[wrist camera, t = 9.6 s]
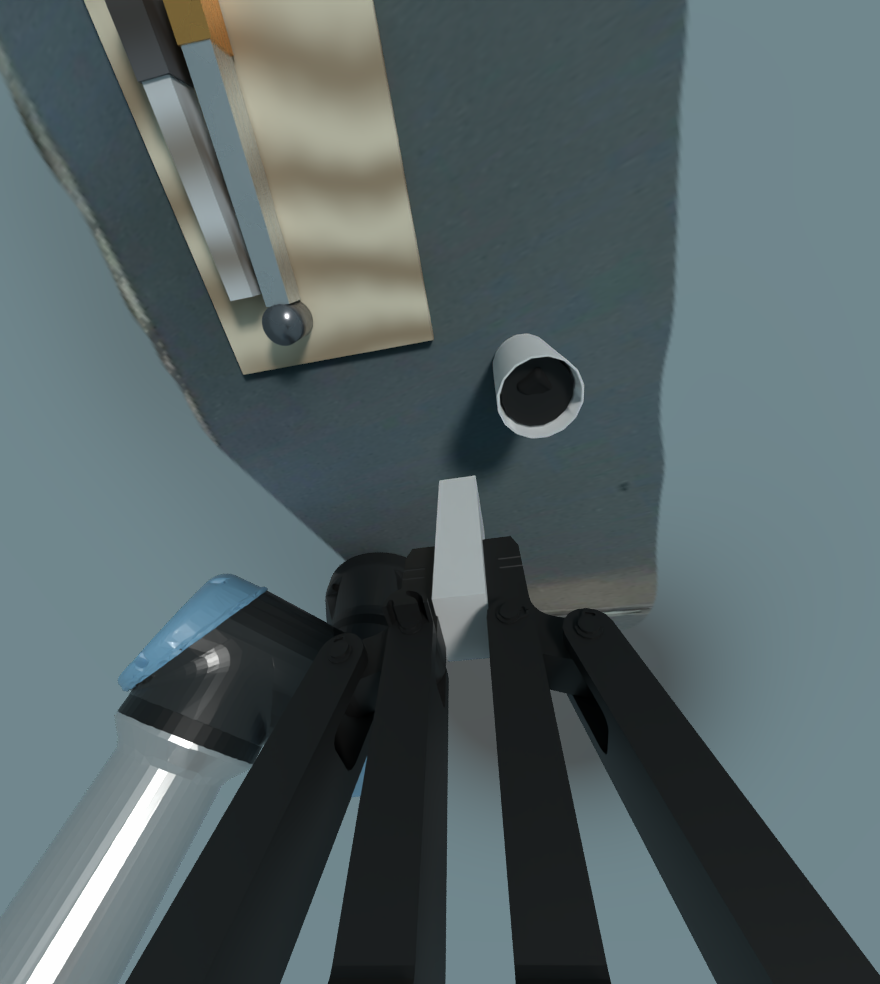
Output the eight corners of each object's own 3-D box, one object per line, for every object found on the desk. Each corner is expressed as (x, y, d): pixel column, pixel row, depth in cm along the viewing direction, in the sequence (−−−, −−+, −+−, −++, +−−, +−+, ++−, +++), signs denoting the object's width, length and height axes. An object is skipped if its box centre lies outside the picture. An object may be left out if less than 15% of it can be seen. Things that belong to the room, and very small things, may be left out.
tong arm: (317, 334, 38) (305, 343, 35) (284, 339, 38) (269, 348, 35) (209, -56, 26) (176, -96, 23) (162, -45, 26) (124, -82, 23)
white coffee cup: (473, 360, 40) (479, 393, 32) (531, 312, 38) (553, 334, 29) (514, 410, 43) (528, 453, 34) (570, 368, 40) (601, 403, 32)
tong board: (433, 337, 39) (431, 347, 36) (247, 371, 41) (228, 384, 38) (352, -116, 25) (335, -174, 22) (80, -28, 28) (24, -68, 24)
